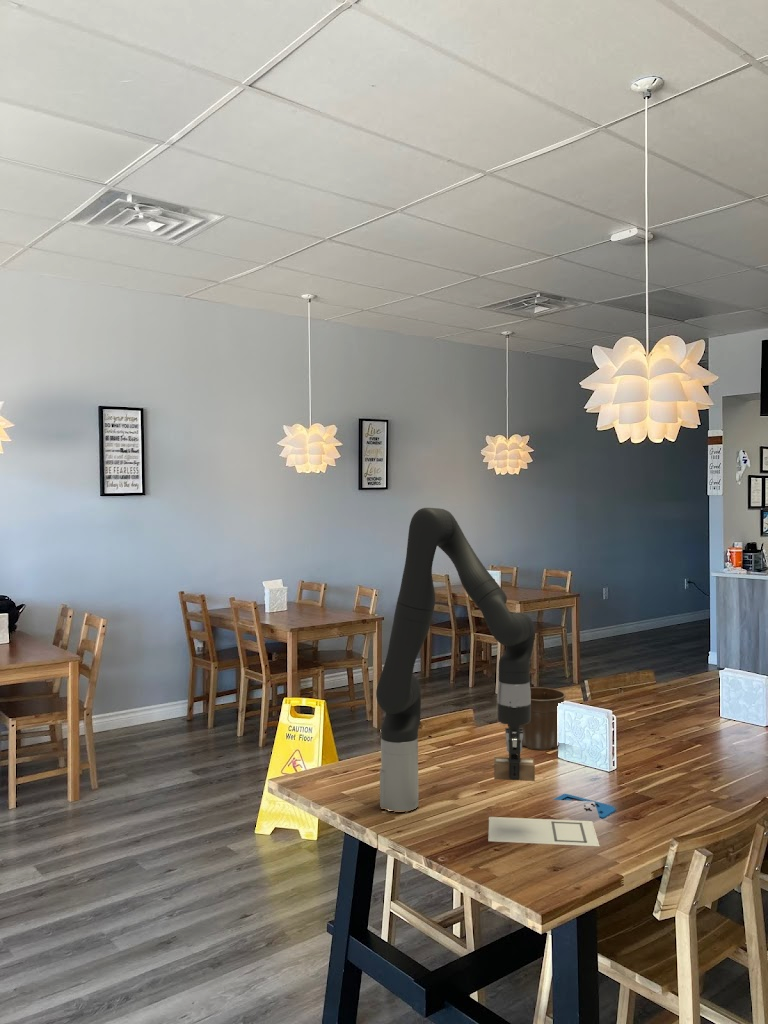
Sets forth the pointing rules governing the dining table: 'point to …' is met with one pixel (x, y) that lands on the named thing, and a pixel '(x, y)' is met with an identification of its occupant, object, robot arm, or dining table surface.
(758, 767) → the dining table surface
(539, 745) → the plant pot
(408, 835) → the dining table surface
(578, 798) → the handheld gaming device
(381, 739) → the robot arm
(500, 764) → the card box
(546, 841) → the mat
